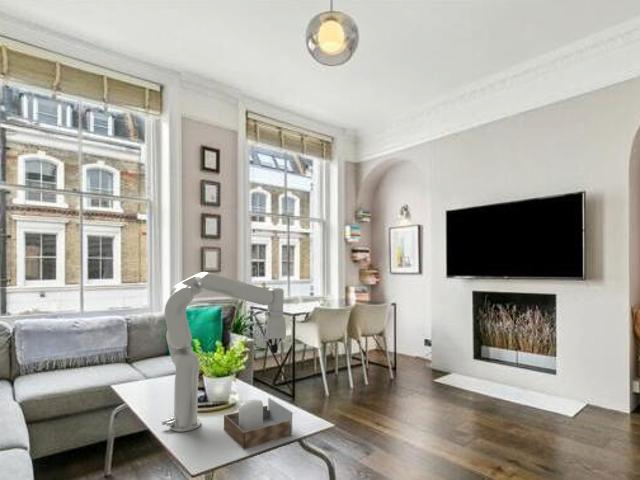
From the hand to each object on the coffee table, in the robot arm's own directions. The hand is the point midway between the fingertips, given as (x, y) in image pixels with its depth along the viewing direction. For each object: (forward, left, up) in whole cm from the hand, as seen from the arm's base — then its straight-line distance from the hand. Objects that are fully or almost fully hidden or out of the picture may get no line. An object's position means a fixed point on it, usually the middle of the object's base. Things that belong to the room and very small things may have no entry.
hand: (274, 352), depth 192 cm
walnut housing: (-18, -19, -27) cm, 37 cm away
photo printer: (-20, -19, -26) cm, 38 cm away
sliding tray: (-18, -19, -27) cm, 37 cm away
